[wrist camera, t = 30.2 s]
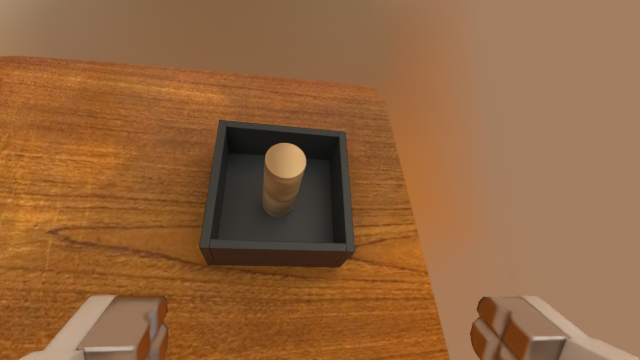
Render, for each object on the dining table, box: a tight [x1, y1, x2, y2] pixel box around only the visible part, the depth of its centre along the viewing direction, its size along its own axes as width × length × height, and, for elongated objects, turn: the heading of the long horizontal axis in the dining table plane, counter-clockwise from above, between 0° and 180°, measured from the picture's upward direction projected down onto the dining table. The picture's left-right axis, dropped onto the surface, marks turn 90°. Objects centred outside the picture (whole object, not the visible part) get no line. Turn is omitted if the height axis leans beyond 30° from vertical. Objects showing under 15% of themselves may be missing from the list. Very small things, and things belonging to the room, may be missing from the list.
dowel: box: [262, 143, 306, 217], centre depth 32 cm, size 4×4×9 cm
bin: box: [199, 120, 355, 267], centre depth 34 cm, size 14×14×6 cm
